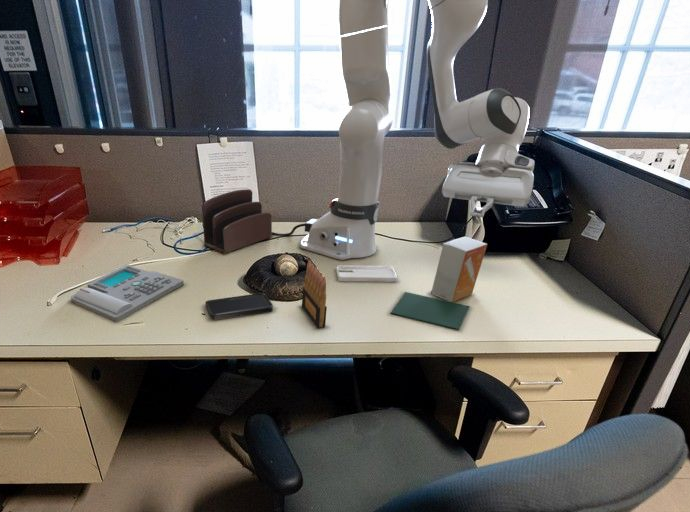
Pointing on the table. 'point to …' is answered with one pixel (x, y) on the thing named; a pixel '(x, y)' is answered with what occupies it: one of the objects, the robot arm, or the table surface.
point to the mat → (431, 310)
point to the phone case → (367, 274)
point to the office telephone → (124, 291)
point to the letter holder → (234, 221)
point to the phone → (238, 306)
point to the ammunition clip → (315, 296)
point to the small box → (458, 268)
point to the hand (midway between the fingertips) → (476, 215)
